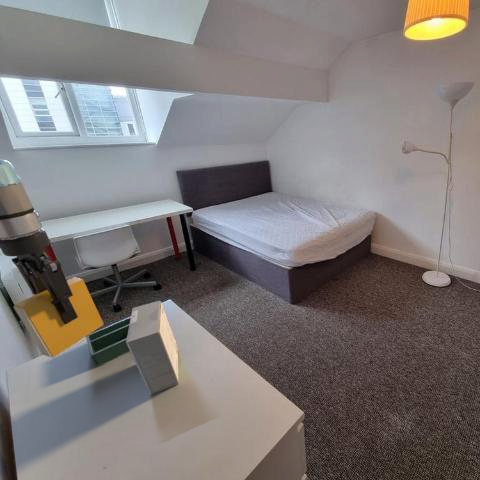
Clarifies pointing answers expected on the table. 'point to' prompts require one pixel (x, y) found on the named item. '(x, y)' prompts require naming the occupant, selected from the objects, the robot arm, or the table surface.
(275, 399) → the table surface
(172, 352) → the hard drive box
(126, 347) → the caddy
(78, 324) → the book
